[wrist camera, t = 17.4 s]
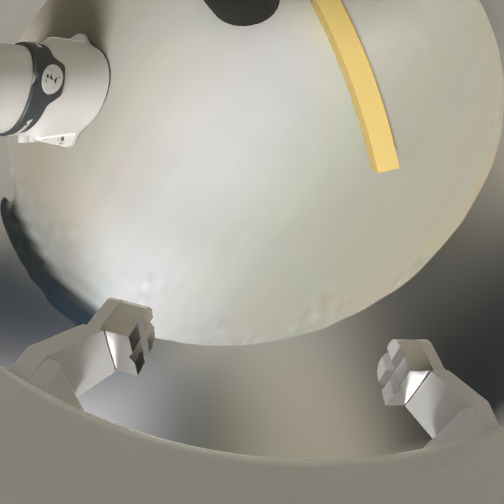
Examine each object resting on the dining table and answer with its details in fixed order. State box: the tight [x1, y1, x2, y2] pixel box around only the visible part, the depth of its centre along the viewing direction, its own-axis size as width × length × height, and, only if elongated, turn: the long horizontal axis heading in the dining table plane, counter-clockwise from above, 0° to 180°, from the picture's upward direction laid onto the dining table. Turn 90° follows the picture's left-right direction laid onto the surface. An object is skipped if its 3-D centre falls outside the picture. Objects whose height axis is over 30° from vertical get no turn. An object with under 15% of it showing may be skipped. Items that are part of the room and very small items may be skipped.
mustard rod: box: [311, 0, 399, 173], centre depth 27 cm, size 3×24×3 cm, turn 19°
